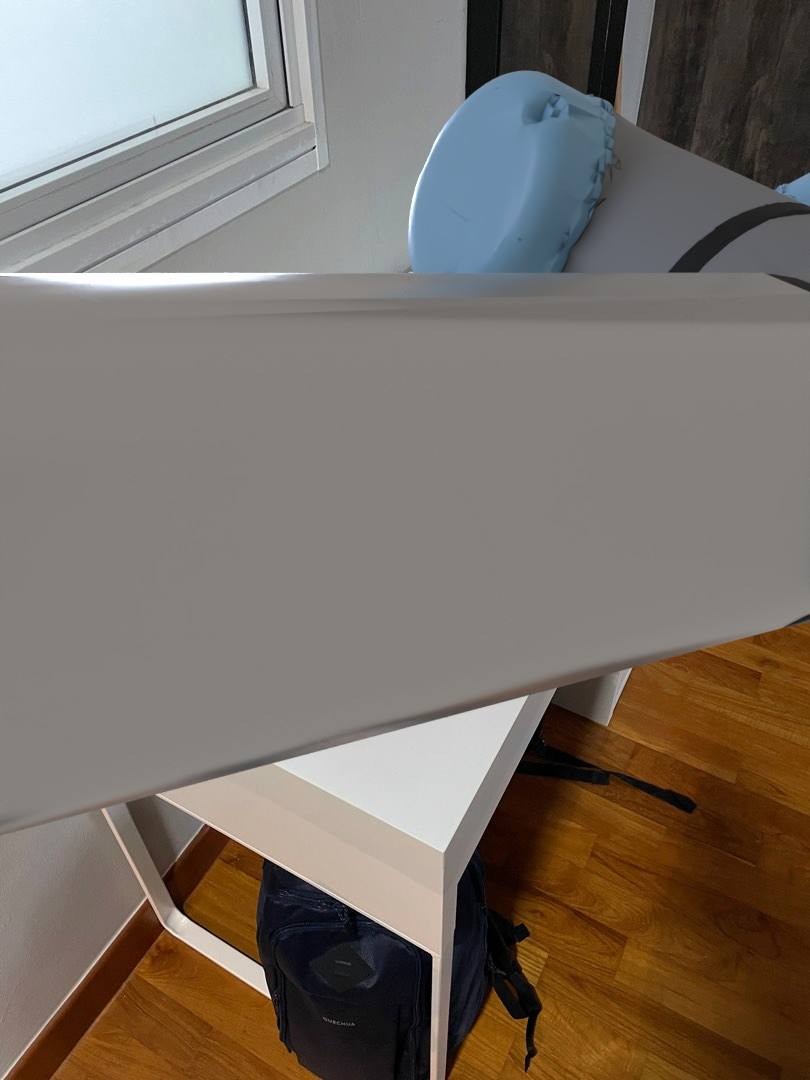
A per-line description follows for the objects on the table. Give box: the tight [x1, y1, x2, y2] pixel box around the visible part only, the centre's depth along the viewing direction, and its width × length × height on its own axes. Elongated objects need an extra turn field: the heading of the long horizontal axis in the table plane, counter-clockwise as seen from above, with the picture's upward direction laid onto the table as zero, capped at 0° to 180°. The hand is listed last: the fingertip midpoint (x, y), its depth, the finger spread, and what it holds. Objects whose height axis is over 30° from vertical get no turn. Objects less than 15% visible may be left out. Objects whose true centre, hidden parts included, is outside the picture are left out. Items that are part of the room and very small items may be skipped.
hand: (332, 547), depth 59 cm, fingers closed on book, 3 cm apart
